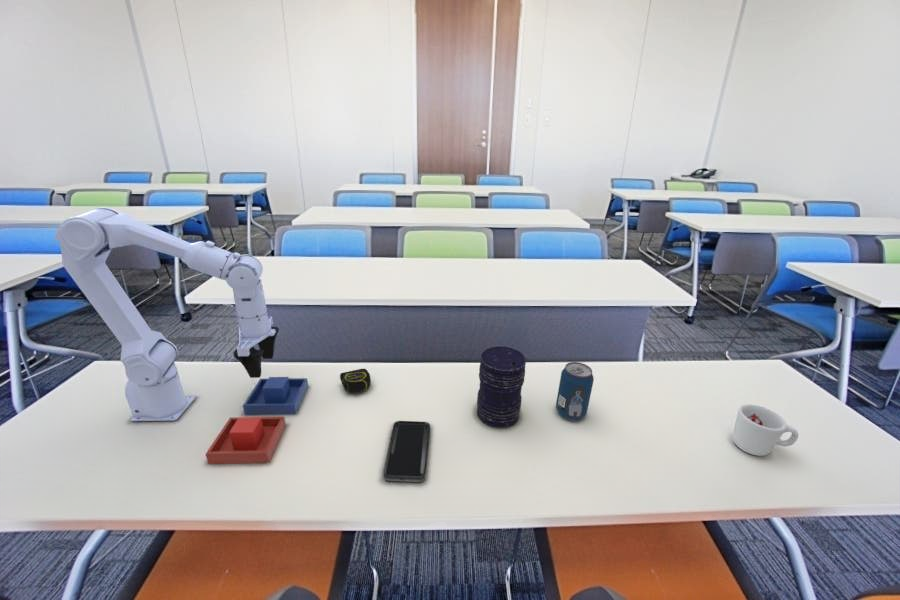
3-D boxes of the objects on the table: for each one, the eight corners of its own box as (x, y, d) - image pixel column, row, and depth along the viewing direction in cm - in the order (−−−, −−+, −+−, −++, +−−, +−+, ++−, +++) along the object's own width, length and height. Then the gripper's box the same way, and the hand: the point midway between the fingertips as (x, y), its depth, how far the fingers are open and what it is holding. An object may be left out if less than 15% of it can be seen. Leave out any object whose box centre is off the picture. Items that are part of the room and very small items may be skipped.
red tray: (208, 464, 75) (205, 453, 74) (232, 426, 84) (229, 417, 83) (268, 462, 76) (266, 452, 75) (286, 425, 85) (284, 416, 84)
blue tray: (244, 414, 88) (242, 405, 87) (261, 387, 97) (260, 378, 96) (296, 414, 89) (294, 404, 88) (308, 386, 98) (307, 378, 97)
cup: (780, 442, 85) (794, 412, 82) (796, 469, 78) (812, 438, 75) (722, 429, 88) (734, 400, 85) (733, 454, 81) (746, 424, 78)
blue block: (265, 404, 91) (262, 388, 89) (271, 392, 95) (269, 376, 93) (284, 403, 91) (282, 388, 89) (290, 392, 95) (288, 376, 93)
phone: (430, 422, 86) (424, 478, 72) (430, 426, 86) (424, 482, 72) (393, 420, 86) (381, 476, 72) (394, 424, 86) (381, 480, 72)
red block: (233, 450, 78) (229, 432, 76) (242, 434, 82) (238, 417, 80) (256, 449, 78) (252, 432, 76) (264, 433, 82) (261, 416, 80)
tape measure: (367, 377, 102) (366, 365, 101) (373, 392, 97) (373, 379, 95) (340, 383, 100) (339, 370, 98) (345, 399, 94) (344, 385, 92)
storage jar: (467, 411, 91) (470, 355, 85) (496, 395, 97) (501, 341, 91) (499, 435, 84) (505, 376, 78) (528, 416, 90) (536, 360, 84)
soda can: (571, 400, 96) (579, 357, 91) (592, 418, 90) (602, 373, 86) (548, 407, 93) (555, 364, 88) (568, 426, 88) (577, 381, 83)
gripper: (258, 328, 78) (268, 386, 84) (282, 299, 92) (290, 350, 97) (221, 328, 78) (234, 386, 83) (251, 299, 91) (260, 350, 97)
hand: (262, 367), depth 90 cm, fingers open, 7 cm apart
